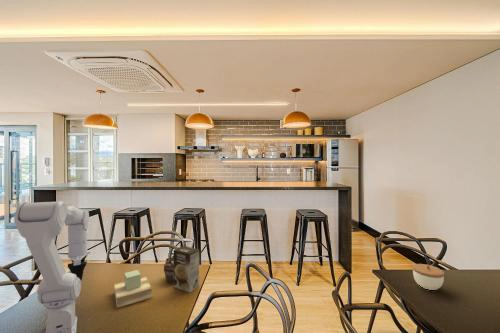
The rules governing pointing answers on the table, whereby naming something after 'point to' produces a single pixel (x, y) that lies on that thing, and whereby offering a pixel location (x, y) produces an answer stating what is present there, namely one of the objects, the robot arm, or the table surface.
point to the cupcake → (169, 269)
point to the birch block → (132, 293)
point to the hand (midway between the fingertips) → (78, 277)
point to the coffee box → (186, 268)
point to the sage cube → (132, 280)
